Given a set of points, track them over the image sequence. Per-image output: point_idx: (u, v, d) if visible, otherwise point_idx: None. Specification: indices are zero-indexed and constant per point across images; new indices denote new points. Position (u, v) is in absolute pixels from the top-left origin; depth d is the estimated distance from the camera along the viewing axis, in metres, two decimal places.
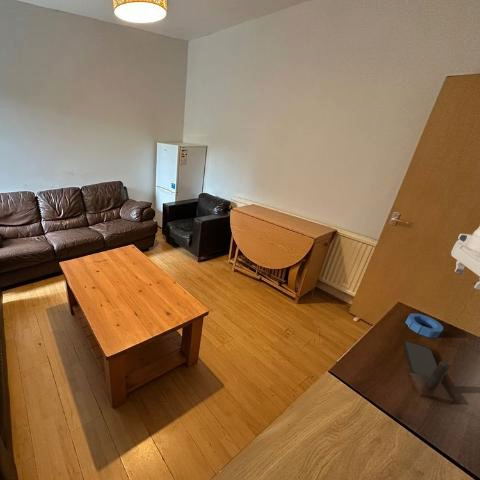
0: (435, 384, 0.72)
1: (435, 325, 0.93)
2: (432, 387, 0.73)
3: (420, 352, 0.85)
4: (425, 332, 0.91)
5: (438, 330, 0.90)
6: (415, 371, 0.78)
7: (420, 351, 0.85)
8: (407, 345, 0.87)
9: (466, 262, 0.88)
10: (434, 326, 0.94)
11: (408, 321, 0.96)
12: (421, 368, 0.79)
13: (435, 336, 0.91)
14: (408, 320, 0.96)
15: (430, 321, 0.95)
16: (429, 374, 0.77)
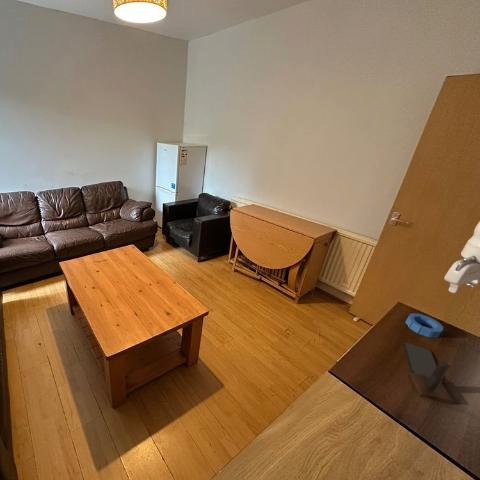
0: (435, 384, 0.72)
1: (435, 325, 0.93)
2: (432, 387, 0.73)
3: (420, 353, 0.85)
4: (425, 332, 0.91)
5: (438, 330, 0.90)
6: (415, 372, 0.79)
7: (419, 352, 0.85)
8: (407, 346, 0.88)
9: None
10: (434, 326, 0.94)
11: (408, 321, 0.96)
12: (420, 369, 0.79)
13: (435, 336, 0.91)
14: (408, 320, 0.96)
15: (430, 321, 0.95)
16: (429, 375, 0.78)
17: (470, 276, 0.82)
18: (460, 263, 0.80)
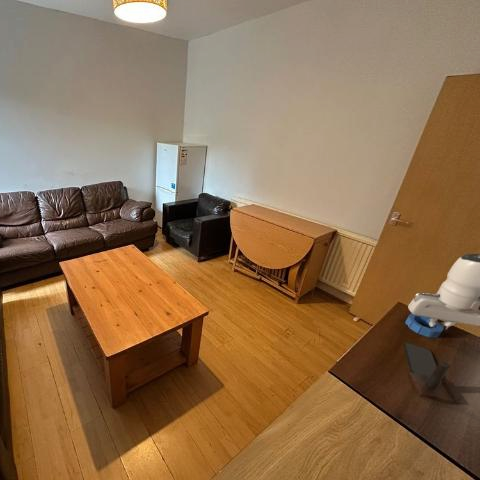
0: (435, 384, 0.72)
1: None
2: (432, 387, 0.73)
3: (420, 353, 0.85)
4: (425, 332, 0.91)
5: (438, 330, 0.90)
6: (415, 371, 0.79)
7: (419, 352, 0.85)
8: (407, 346, 0.88)
9: None
10: None
11: (408, 321, 0.96)
12: (420, 369, 0.79)
13: (435, 336, 0.91)
14: (408, 320, 0.96)
15: None
16: (429, 375, 0.78)
17: (432, 312, 0.90)
18: (416, 294, 0.91)
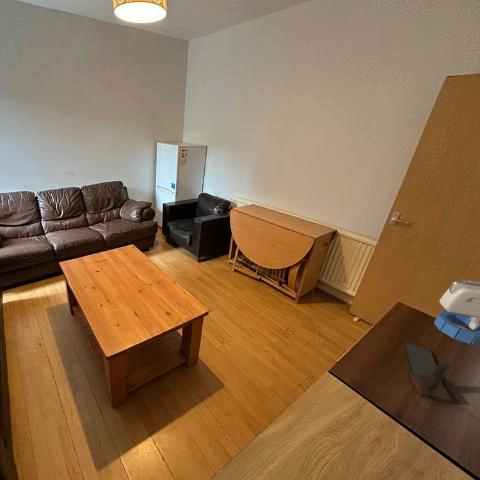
0: (435, 384, 0.72)
1: None
2: (432, 387, 0.73)
3: (420, 353, 0.85)
4: (465, 337, 0.64)
5: None
6: (414, 371, 0.79)
7: (419, 353, 0.85)
8: (407, 346, 0.88)
9: None
10: None
11: (439, 321, 0.69)
12: (420, 369, 0.79)
13: None
14: (439, 320, 0.69)
15: (470, 321, 0.68)
16: (428, 375, 0.78)
17: (477, 308, 0.63)
18: (454, 283, 0.64)
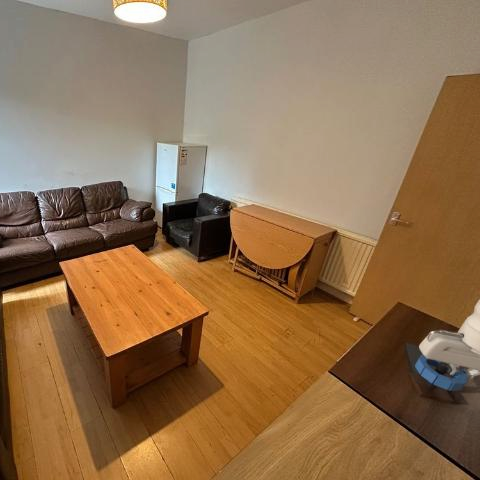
0: None
1: None
2: (432, 387, 0.73)
3: (420, 353, 0.85)
4: (442, 383, 0.68)
5: (460, 381, 0.67)
6: (414, 371, 0.79)
7: (420, 353, 0.85)
8: (407, 346, 0.88)
9: None
10: None
11: (419, 365, 0.72)
12: None
13: (456, 389, 0.67)
14: (419, 364, 0.73)
15: None
16: None
17: (453, 357, 0.66)
18: (431, 333, 0.67)
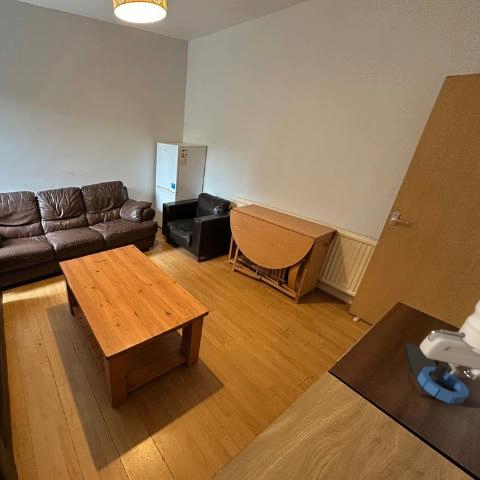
0: None
1: (458, 385, 0.71)
2: None
3: (420, 353, 0.85)
4: (445, 396, 0.69)
5: (462, 395, 0.68)
6: (414, 371, 0.79)
7: (420, 353, 0.85)
8: (407, 346, 0.88)
9: None
10: (456, 387, 0.71)
11: (421, 378, 0.74)
12: (420, 369, 0.79)
13: (458, 402, 0.69)
14: (421, 377, 0.74)
15: (450, 379, 0.73)
16: None
17: (454, 356, 0.66)
18: (432, 332, 0.67)
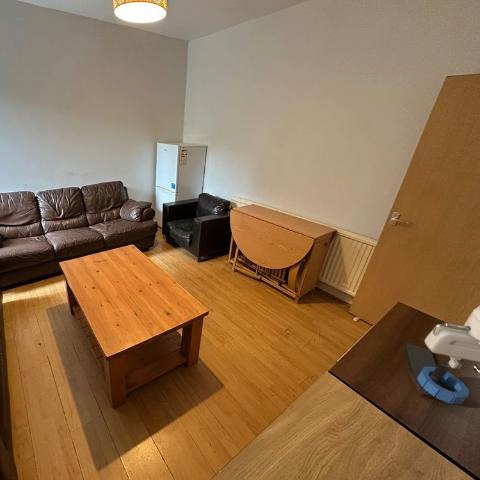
0: None
1: (458, 385, 0.71)
2: None
3: (420, 353, 0.85)
4: (445, 396, 0.69)
5: (462, 395, 0.68)
6: (414, 371, 0.79)
7: (420, 353, 0.85)
8: (407, 346, 0.88)
9: None
10: (456, 387, 0.71)
11: (421, 378, 0.74)
12: (420, 369, 0.79)
13: (458, 402, 0.69)
14: (421, 377, 0.74)
15: (450, 379, 0.73)
16: None
17: (460, 351, 0.65)
18: (437, 326, 0.66)
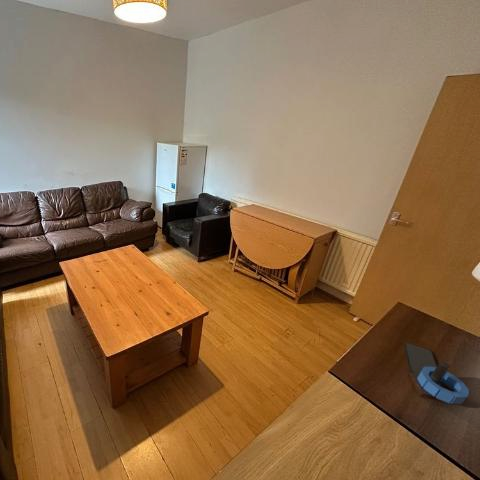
0: None
1: (458, 385, 0.71)
2: None
3: (420, 353, 0.85)
4: (445, 396, 0.69)
5: (462, 395, 0.68)
6: (414, 371, 0.79)
7: (420, 353, 0.85)
8: (407, 346, 0.88)
9: None
10: (456, 387, 0.71)
11: (421, 378, 0.74)
12: (420, 369, 0.79)
13: (458, 402, 0.69)
14: (421, 377, 0.74)
15: (450, 379, 0.73)
16: None
17: None
18: None
